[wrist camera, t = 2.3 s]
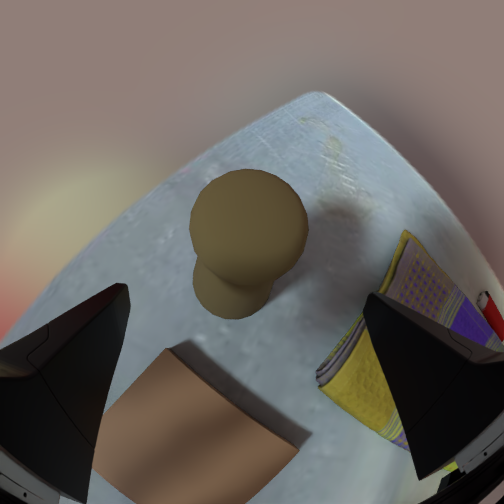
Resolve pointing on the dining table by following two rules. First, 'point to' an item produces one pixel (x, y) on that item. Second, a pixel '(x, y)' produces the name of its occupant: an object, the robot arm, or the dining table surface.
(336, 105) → the dining table surface
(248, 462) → the walnut board
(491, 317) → the lighter
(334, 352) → the dish towel
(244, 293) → the olive brown peg figure
